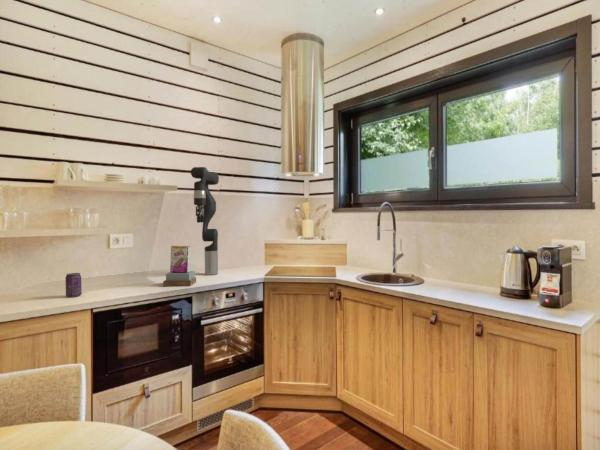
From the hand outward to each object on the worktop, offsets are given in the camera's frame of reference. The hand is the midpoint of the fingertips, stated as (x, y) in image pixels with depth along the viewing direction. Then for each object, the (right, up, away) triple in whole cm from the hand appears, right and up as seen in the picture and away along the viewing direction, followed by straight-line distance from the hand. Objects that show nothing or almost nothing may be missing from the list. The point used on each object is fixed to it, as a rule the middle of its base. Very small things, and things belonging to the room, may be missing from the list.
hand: (200, 222), depth 233 cm
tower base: (-9, -39, -12) cm, 42 cm away
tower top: (-9, -35, -12) cm, 38 cm away
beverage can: (-55, -40, -44) cm, 81 cm away
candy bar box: (-9, -31, -13) cm, 35 cm away
